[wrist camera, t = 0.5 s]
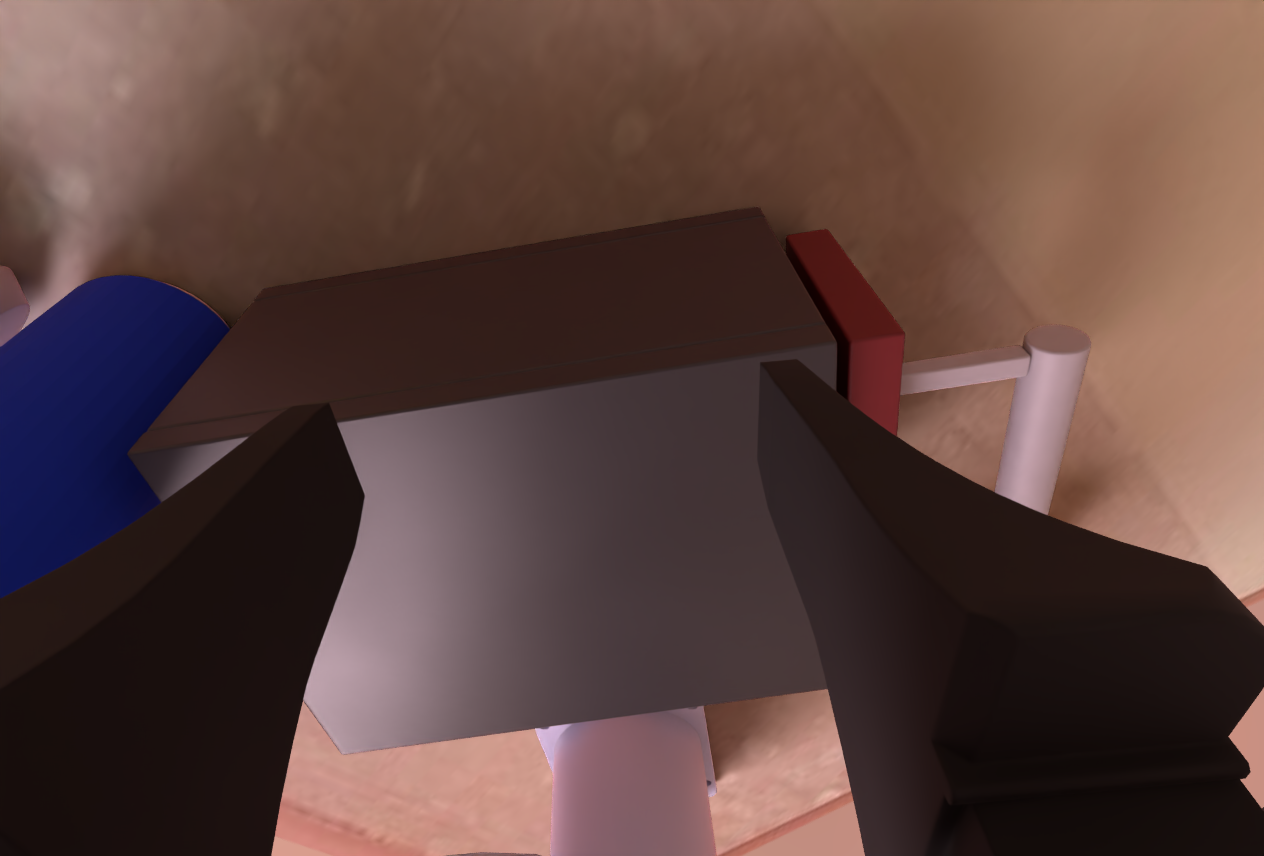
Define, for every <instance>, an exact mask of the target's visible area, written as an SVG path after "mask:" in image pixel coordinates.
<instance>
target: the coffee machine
mask: <svg viewBox="0 0 1264 856" xmlns="http://www.w3.org/2000/svg"><path fill="white" fill-rule="evenodd" d="M792 359H797V360H799V361H800V362H801V363H803V364H804V365H805V366H806V367H807V368H809V369H810V370H811V371H812V372H813V373H815V374H816V375H817V376H818V377H819V378H821V379H822V380H823V381H824V382H825V383H827V384H828V385H829V386H830V387H832V388H833V389H834V390H835V391H836V379H837V342H836V340H835V338H834V336H833V335H832V333H831V331H830V329H829V328H828V326H827V325H826V323H825V321H824V320H823V318H822V316H821V314H820V313H819V311H818V309H817V307H816V306H815V304H814V302H813V301H812V299H811V297H810V295H809V294H808V292H807V290H806V288H805V287H804V285H803V283H802V281H801V280H800V278H799V276H798V274H797V273H796V271H795V269H794V267H793V266H792V264H791V262H790V260H789V259H788V257H787V255H786V254H785V252H784V250H783V248H782V247H781V245H780V243H779V241H778V240H777V238H776V236H775V234H774V233H773V231H772V229H771V227H770V226H769V224H768V222H767V220H766V219H765V216H764V214H763V213H762V211H761V209H760V208H759V207H753V208H747V209H741V210H735V211H729V212H723V213H717V214H711V215H705V216H699V217H693V218H687V219H681V220H675V221H669V222H663V223H657V224H651V225H645V226H639V227H633V228H626V229H620V230H614V231H608V232H602V233H596V234H590V235H584V236H578V237H572V238H566V239H560V240H554V241H548V242H542V243H536V244H530V245H524V246H518V247H512V248H506V249H500V250H494V251H488V252H482V253H476V254H470V255H464V256H458V257H452V258H446V259H440V260H434V261H428V262H422V263H416V264H410V265H404V266H398V267H392V268H386V269H380V270H374V271H368V272H362V273H356V274H350V275H344V276H338V277H332V278H326V279H320V280H314V281H308V282H302V283H296V284H290V285H284V286H278V287H272V288H266V289H263V290H262V291H261V293H260V294H259V295H258V296H257V297H256V299H255V300H254V302H253V303H252V304H251V305H250V306H249V308H248V309H247V310H246V311H245V312H244V314H243V315H242V316H241V317H240V318H239V320H238V321H237V322H236V323H235V324H234V326H233V327H232V328H231V329H230V330H229V332H228V333H227V334H226V335H225V336H224V338H223V339H222V340H221V341H220V342H219V344H218V345H217V346H216V347H215V348H214V350H213V351H212V352H211V353H210V354H209V356H208V357H207V358H206V359H205V360H204V362H203V363H202V364H201V365H200V366H199V368H198V369H197V370H196V371H195V372H194V374H193V375H192V376H191V377H190V378H189V380H188V381H187V382H186V383H185V384H184V386H183V387H182V388H181V389H180V390H179V392H178V393H177V394H176V395H175V397H174V398H173V399H172V400H171V401H170V403H169V404H168V405H167V406H166V407H165V409H164V410H163V411H162V412H161V413H160V415H159V416H158V417H157V418H156V419H155V421H154V422H153V423H152V424H151V425H150V427H149V428H148V429H147V432H145V433H143V434H142V436H141V437H140V438H139V439H138V440H137V442H136V443H135V444H134V445H133V446H132V448H131V449H130V450H129V451H128V453H127V455H128V457H129V458H130V460H131V461H132V462H133V464H134V465H135V467H136V468H137V469H138V471H139V472H140V474H141V475H142V476H143V478H144V479H145V481H146V482H147V483H148V485H149V486H150V488H151V489H152V490H153V492H154V493H155V495H156V496H157V497H158V499H159V500H160V502H161V503H162V502H163V501H164V500H166V499H167V498H169V497H170V496H171V495H173V494H174V493H176V492H177V491H178V490H180V489H181V488H183V487H184V486H185V485H187V484H188V483H190V482H191V481H192V480H194V479H195V478H196V477H198V476H199V475H200V474H202V473H203V472H204V471H206V470H207V469H208V468H209V467H211V466H212V465H213V464H215V463H216V462H217V461H219V460H220V459H221V458H222V457H224V456H225V455H226V454H228V453H229V452H230V451H232V450H233V449H234V448H235V447H237V446H238V445H239V444H241V443H242V442H243V441H244V440H246V439H247V438H248V437H250V436H251V435H252V434H254V433H255V432H256V431H257V430H259V429H260V428H261V427H263V426H264V425H265V424H267V423H268V422H269V421H271V420H272V419H274V418H275V417H276V416H278V415H279V414H281V413H282V412H284V411H285V410H287V409H289V408H290V407H292V406H297V405H308V404H318V403H329V404H330V406H331V409H332V412H333V414H334V417H335V419H336V422H337V424H338V427H339V430H340V432H341V435H342V437H343V440H344V443H345V445H346V448H347V450H348V453H349V455H350V458H351V461H352V463H353V466H354V468H355V471H356V474H357V476H358V479H359V481H360V484H361V486H362V489H363V492H364V494H365V499H364V504H363V510H362V516H361V521H360V527H359V531H358V536H357V541H356V545H355V549H354V552H353V555H352V558H351V561H350V564H349V566H348V569H347V572H346V575H345V578H344V581H343V583H342V586H341V589H340V592H339V594H338V597H337V600H336V603H335V605H334V608H333V611H332V614H331V616H330V619H329V622H328V625H327V627H326V630H325V633H324V636H323V638H322V641H321V644H320V647H319V649H318V652H317V655H316V658H315V660H314V663H313V667H312V670H311V673H310V676H309V679H308V683H307V686H306V690H305V694H304V698H303V701H304V702H305V704H306V705H307V707H308V708H309V709H310V711H311V712H312V713H313V715H314V716H315V718H316V719H317V720H318V722H319V723H320V725H321V726H322V727H323V729H324V730H325V732H326V733H327V734H328V736H329V737H330V739H331V740H332V741H333V743H334V744H335V746H336V747H337V748H338V750H339V751H340V753H341V754H343V755H345V754H352V753H360V752H367V751H374V750H382V749H389V748H397V747H404V746H411V745H419V744H426V743H433V742H441V741H448V740H455V739H463V738H470V737H478V736H485V735H492V734H500V733H507V732H514V731H522V730H529V729H536V728H544V727H551V726H559V725H566V724H573V723H581V722H588V721H595V720H603V719H610V718H618V717H625V716H632V715H640V714H647V713H654V712H662V711H669V710H676V709H684V708H691V707H699V706H706V705H713V704H721V703H728V702H735V701H743V700H750V699H758V698H765V697H772V696H780V695H787V694H794V693H802V692H809V691H816V690H824V689H828V688H827V684H826V680H825V676H824V672H823V668H822V664H821V660H820V656H819V652H818V648H817V644H816V640H815V637H814V634H813V631H812V628H811V625H810V621H809V618H808V615H807V613H806V610H805V607H804V604H803V602H802V599H801V596H800V594H799V591H798V588H797V586H796V583H795V580H794V578H793V575H792V572H791V570H790V567H789V564H788V562H787V559H786V556H785V554H784V551H783V548H782V546H781V543H780V540H779V537H778V535H777V532H776V529H775V526H774V524H773V521H772V518H771V515H770V513H769V510H768V506H767V502H766V498H765V493H764V489H763V485H762V480H761V475H760V471H759V466H758V461H757V445H758V414H759V382H760V362H770V361H781V360H792Z"/></svg>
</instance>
